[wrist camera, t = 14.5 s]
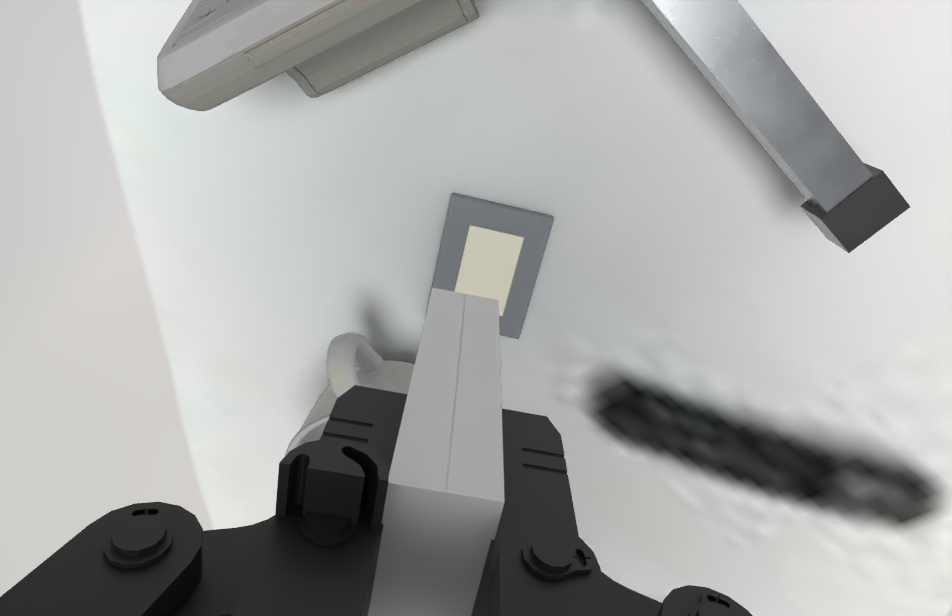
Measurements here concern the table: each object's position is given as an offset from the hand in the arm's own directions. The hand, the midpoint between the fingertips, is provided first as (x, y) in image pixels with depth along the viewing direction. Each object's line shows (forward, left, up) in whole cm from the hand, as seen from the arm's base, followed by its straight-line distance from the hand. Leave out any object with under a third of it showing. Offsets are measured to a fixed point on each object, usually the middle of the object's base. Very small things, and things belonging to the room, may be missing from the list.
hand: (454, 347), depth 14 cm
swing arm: (+8, -10, -18) cm, 22 cm away
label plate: (-7, -2, -23) cm, 24 cm away
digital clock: (+7, +7, -23) cm, 25 cm away
